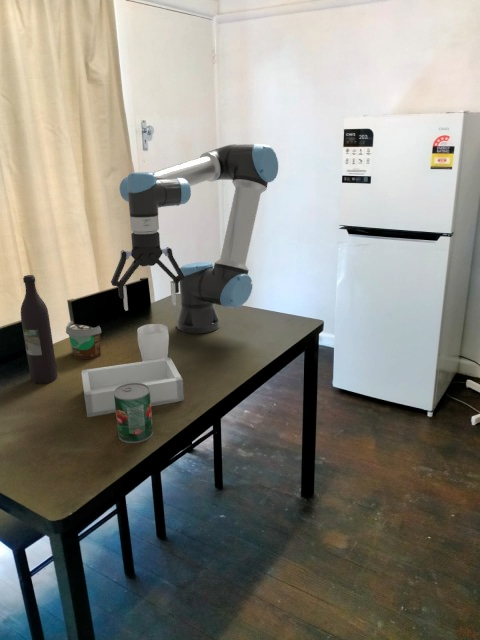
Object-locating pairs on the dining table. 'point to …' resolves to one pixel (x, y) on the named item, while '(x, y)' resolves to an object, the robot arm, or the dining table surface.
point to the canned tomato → (133, 412)
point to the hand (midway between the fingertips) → (150, 306)
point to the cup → (153, 341)
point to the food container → (84, 340)
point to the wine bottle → (37, 335)
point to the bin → (151, 373)
